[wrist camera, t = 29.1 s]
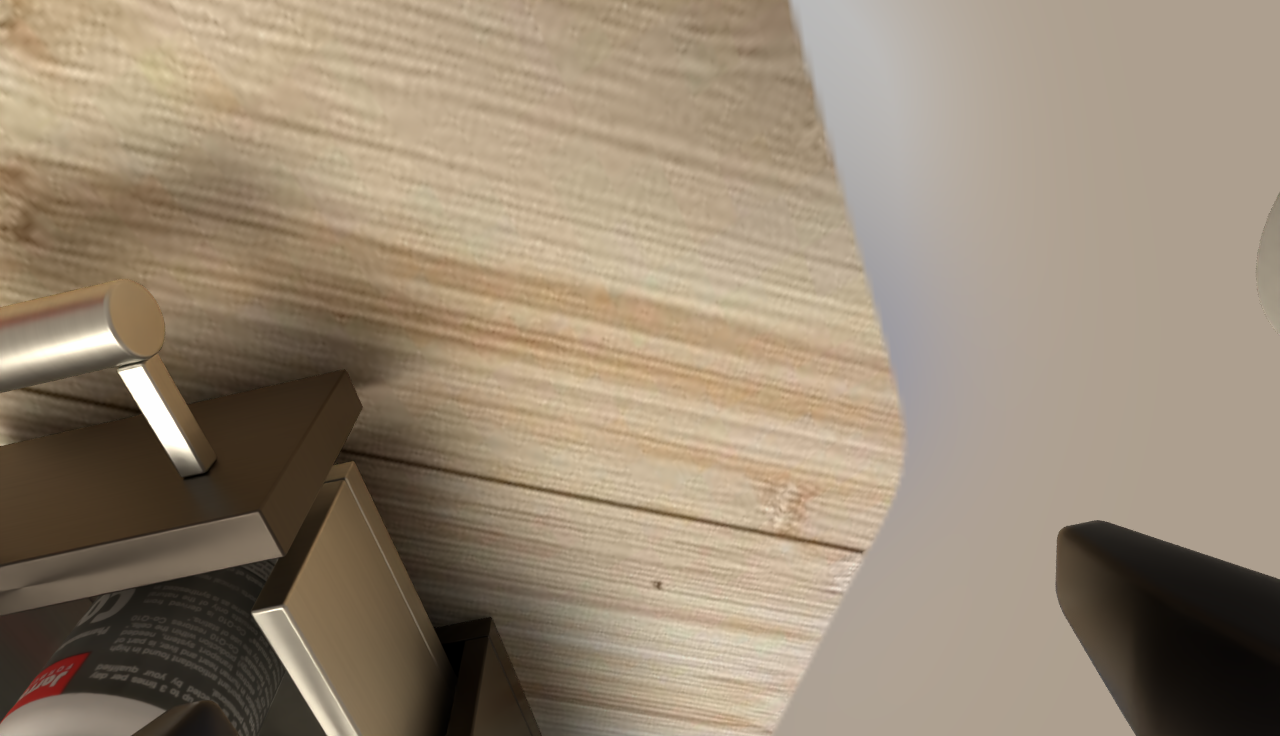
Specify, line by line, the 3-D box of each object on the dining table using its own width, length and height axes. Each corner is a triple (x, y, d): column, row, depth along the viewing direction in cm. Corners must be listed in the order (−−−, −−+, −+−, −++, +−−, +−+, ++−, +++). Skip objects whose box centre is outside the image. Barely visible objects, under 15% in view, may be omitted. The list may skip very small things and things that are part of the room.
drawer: (-144, 305, 19) (-423, 437, 14) (273, 205, 18) (144, 305, 13) (195, 756, 27) (97, 949, 21) (495, 697, 26) (469, 882, 21)
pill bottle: (161, 481, 20) (-95, 789, 13) (343, 545, 21) (206, 861, 14) (120, 607, 22) (-124, 940, 15) (290, 660, 23) (143, 992, 16)
